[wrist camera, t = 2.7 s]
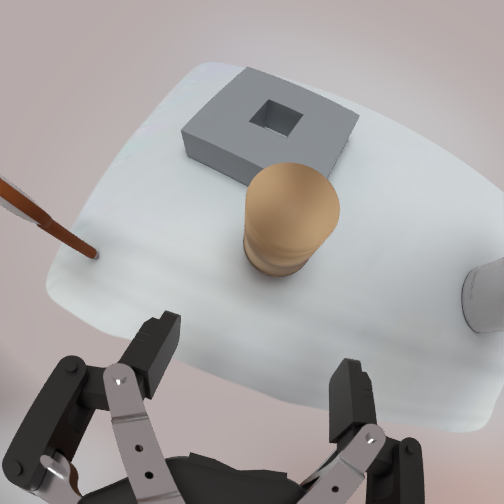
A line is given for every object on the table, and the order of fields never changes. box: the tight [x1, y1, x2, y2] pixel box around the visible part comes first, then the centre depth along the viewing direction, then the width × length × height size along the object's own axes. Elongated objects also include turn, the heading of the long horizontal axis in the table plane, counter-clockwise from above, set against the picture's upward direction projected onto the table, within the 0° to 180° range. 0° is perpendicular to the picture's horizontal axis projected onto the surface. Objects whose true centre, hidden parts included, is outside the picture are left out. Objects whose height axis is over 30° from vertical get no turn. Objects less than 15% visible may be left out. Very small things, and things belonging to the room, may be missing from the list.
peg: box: [243, 162, 340, 277], centre depth 23 cm, size 6×6×13 cm
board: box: [181, 67, 360, 187], centre depth 31 cm, size 16×14×5 cm
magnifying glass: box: [0, 175, 98, 259], centre depth 19 cm, size 9×2×20 cm, turn 67°
